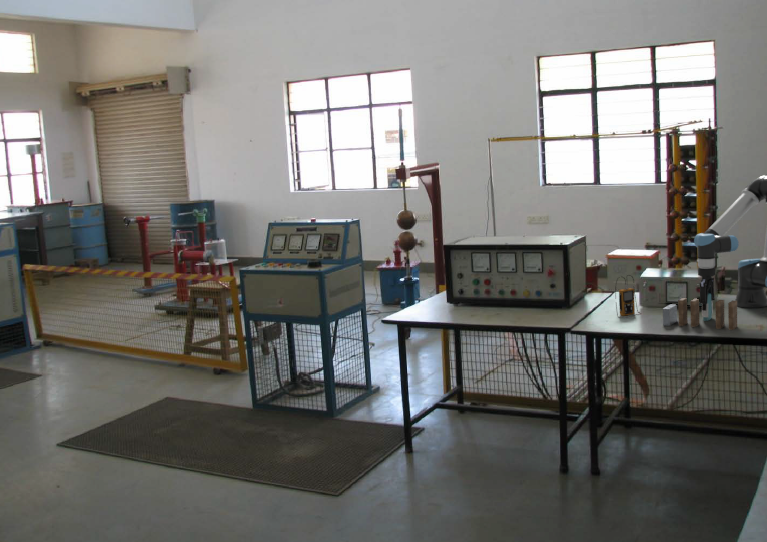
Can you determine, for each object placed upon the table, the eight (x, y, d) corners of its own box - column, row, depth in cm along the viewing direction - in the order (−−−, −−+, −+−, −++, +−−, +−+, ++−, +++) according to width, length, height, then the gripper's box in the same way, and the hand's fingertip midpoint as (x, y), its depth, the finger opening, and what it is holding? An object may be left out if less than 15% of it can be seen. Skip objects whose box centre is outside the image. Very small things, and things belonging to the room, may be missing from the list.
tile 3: (711, 318, 373) (711, 293, 372) (707, 320, 369) (707, 295, 367) (707, 317, 375) (706, 293, 373) (703, 320, 370) (702, 295, 368)
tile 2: (724, 325, 358) (724, 300, 356) (720, 328, 353) (720, 302, 351) (719, 325, 359) (719, 299, 357) (715, 328, 354) (715, 302, 352)
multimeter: (626, 320, 383) (625, 279, 380) (613, 316, 393) (612, 277, 390) (651, 315, 389) (649, 275, 386) (637, 312, 398) (636, 273, 395)
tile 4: (699, 324, 365) (699, 298, 363) (695, 326, 360) (694, 301, 358) (695, 323, 366) (694, 298, 364) (690, 326, 361) (690, 300, 359)
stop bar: (677, 321, 373) (676, 304, 372) (669, 325, 366) (669, 309, 364) (670, 320, 375) (670, 304, 374) (663, 325, 367) (662, 308, 366)
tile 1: (737, 326, 354) (737, 300, 352) (733, 329, 350) (733, 303, 348) (732, 326, 355) (732, 300, 353) (728, 329, 351) (728, 303, 349)
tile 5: (687, 323, 368) (687, 297, 366) (683, 325, 364) (682, 300, 362) (683, 322, 369) (682, 297, 367) (678, 325, 365) (678, 300, 363)
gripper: (704, 263, 378) (705, 310, 381) (691, 270, 363) (692, 319, 367) (721, 264, 373) (721, 311, 376) (708, 270, 358) (709, 320, 362)
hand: (707, 315), depth 372 cm, fingers closed on tile 3, 6 cm apart
